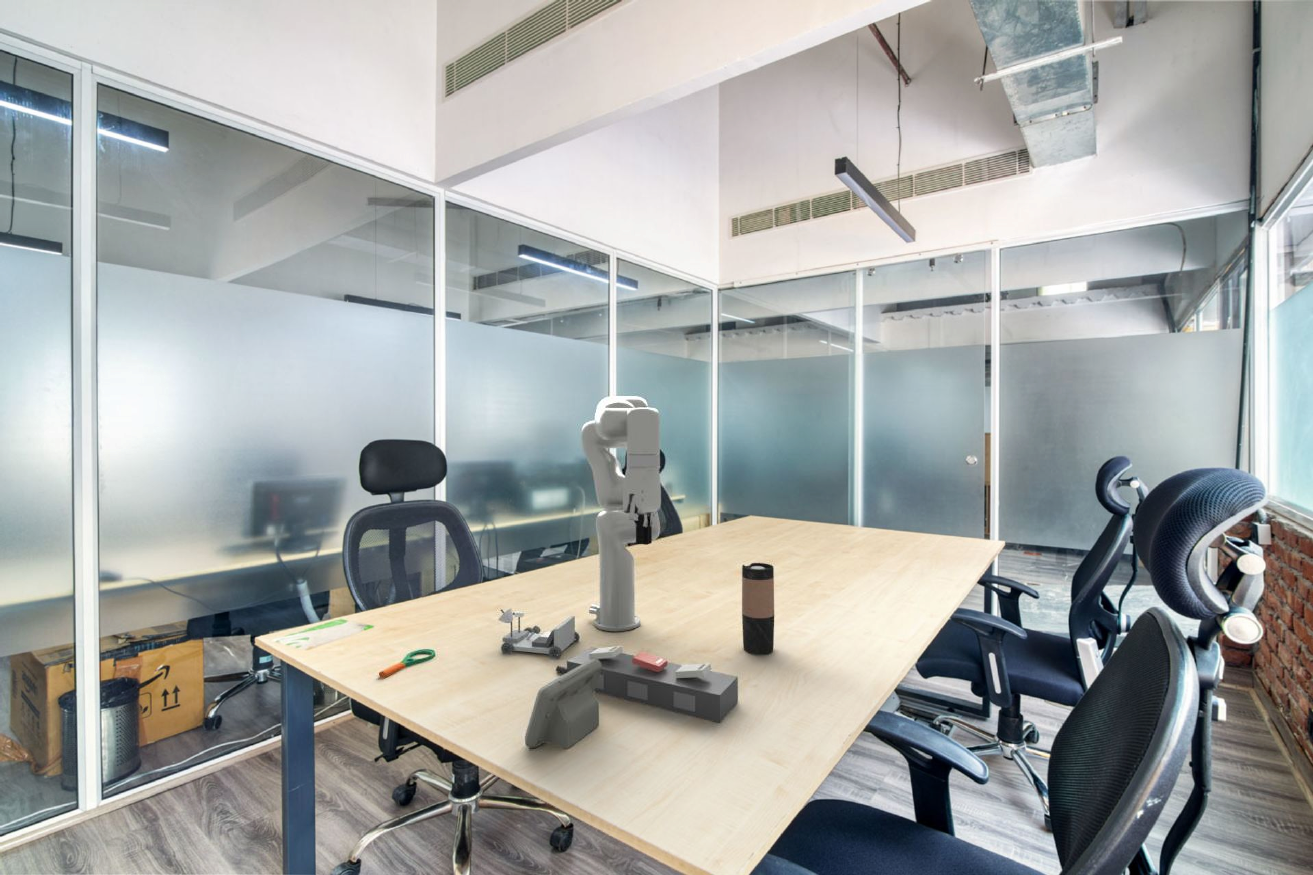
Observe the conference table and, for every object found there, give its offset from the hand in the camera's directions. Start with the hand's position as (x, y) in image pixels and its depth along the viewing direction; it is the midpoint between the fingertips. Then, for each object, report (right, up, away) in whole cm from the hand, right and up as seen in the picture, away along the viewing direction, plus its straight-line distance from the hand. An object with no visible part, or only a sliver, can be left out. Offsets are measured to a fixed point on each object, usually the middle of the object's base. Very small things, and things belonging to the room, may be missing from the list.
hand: (643, 543), depth 131 cm
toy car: (-27, -28, +11) cm, 40 cm away
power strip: (-1, -27, -14) cm, 31 cm away
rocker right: (+10, -22, -20) cm, 32 cm away
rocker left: (-7, -22, -11) cm, 26 cm away
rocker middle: (+1, -22, -15) cm, 27 cm away
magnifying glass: (-54, -28, 0) cm, 61 cm away
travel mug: (+27, -27, +8) cm, 39 cm away
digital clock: (-13, -28, -30) cm, 43 cm away
